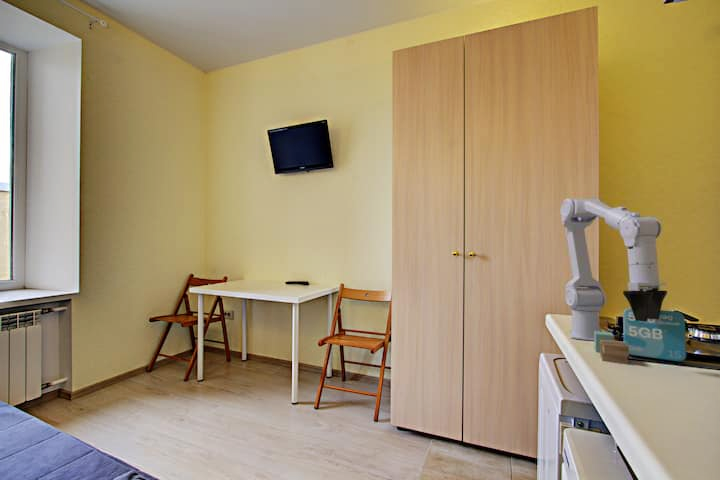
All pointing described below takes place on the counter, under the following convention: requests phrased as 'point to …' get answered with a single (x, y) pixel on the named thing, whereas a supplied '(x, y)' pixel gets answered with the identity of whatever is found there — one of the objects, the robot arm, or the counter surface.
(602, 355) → the walnut slab lower
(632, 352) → the data package
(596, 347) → the teal block
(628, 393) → the counter surface
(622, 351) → the walnut slab upper
